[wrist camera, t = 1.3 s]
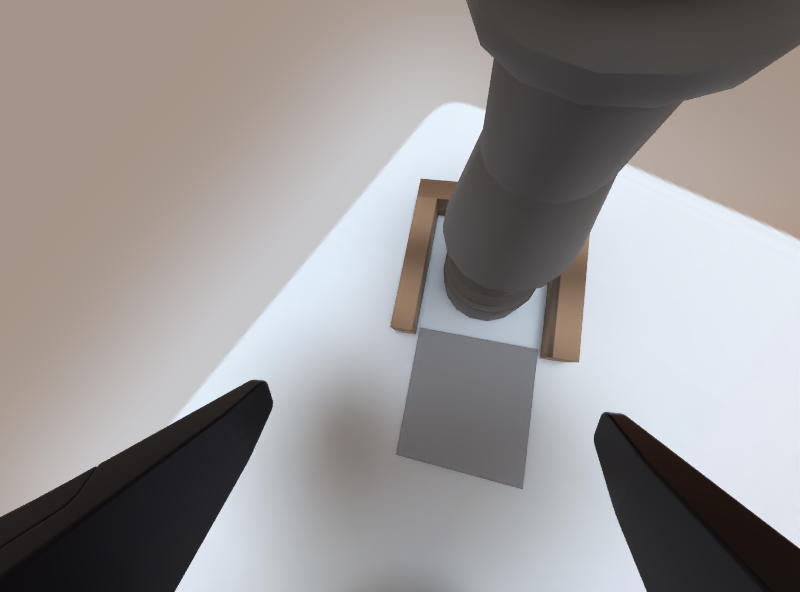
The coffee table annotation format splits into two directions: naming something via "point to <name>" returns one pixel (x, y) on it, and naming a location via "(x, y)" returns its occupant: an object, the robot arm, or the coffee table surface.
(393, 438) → the coffee table surface
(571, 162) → the candle holder
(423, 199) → the wooden u-shaped frame
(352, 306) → the coffee table surface
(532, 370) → the mat
